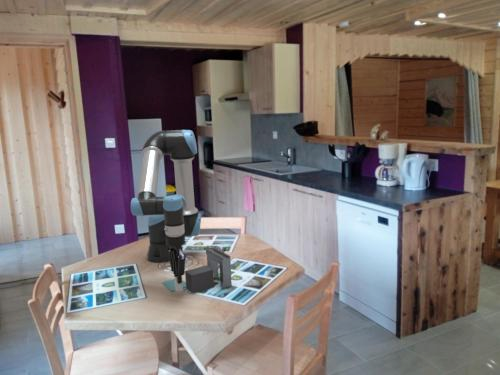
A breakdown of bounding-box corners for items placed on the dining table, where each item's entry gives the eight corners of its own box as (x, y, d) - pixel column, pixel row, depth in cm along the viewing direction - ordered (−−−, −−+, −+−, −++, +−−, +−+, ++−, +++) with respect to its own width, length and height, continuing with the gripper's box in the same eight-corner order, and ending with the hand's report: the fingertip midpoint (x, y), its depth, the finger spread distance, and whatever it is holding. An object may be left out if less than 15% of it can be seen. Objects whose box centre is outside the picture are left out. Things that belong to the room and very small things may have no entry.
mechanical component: (225, 268, 194) (224, 248, 193) (204, 267, 197) (203, 247, 195) (227, 266, 197) (226, 246, 195) (206, 265, 199) (205, 245, 198)
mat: (161, 283, 180) (161, 282, 180) (178, 278, 185) (178, 277, 185) (172, 291, 171) (172, 290, 171) (189, 286, 176) (189, 285, 176)
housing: (208, 278, 184) (206, 249, 181) (215, 275, 186) (214, 247, 184) (223, 288, 173) (222, 258, 170) (231, 285, 175) (230, 256, 173)
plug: (186, 288, 174) (185, 271, 173) (210, 281, 180) (209, 264, 179) (192, 293, 169) (191, 275, 168) (217, 286, 176) (216, 268, 174)
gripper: (159, 232, 168) (164, 286, 172) (173, 240, 157) (177, 298, 161) (176, 229, 172) (180, 282, 176) (190, 236, 161) (194, 292, 165)
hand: (179, 289), depth 169 cm, fingers closed
